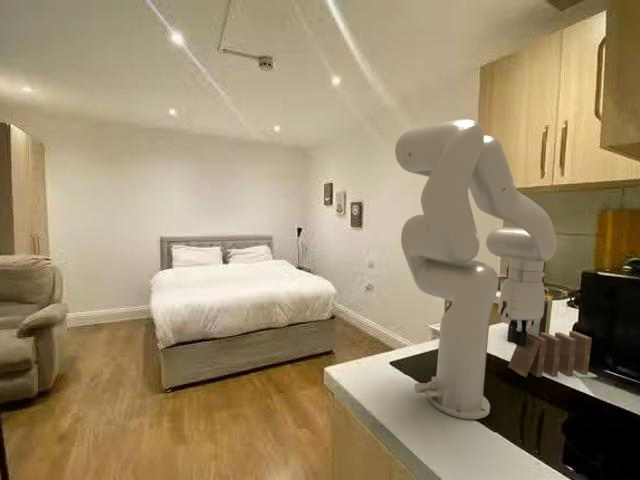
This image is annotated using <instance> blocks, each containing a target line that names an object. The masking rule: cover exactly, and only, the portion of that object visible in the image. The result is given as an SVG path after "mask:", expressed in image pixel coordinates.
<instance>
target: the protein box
mask: <svg viewBox="0 0 640 480" xmlns="http://www.w3.org/2000/svg"><path fill="white" fill-rule="evenodd" d="M544 295H545V302H544V313H543V317H542V318H541V321H540V322H539V323H536V324H533V325H532V326H531V327H530V331H528V332H527V333H534V334H536V335H538V336H540V333H548V334H550V328H551V321H552V320H551V319H552V309H553V300H554V294H551V293H545V292H544ZM515 322H516V321H515ZM507 327H508V328H507V330H508V331H507V339H506V341H507V342H508V343H512V329H513V328H511V327H510V325H509V324H508V326H507Z"/></svg>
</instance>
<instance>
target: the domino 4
mask: <svg viewBox="0 0 640 480" xmlns="http://www.w3.org/2000/svg"><path fill="white" fill-rule="evenodd" d="M554 337H556V338H559V339H561V348H560V357H559V366H558V372H559V373H560V374H562V375H564V376H566V377H573V376H574V375H573V366H574V358H575V349H576V341H577V339H574V338H572V337H570V336H569V335H567V334H564V333H563V332H559V331H558V332H554Z"/></svg>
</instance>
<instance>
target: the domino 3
mask: <svg viewBox="0 0 640 480" xmlns="http://www.w3.org/2000/svg"><path fill="white" fill-rule="evenodd" d="M540 337H542V338H544V339H546V340H547V344H546V351H545V359H544V366H543V373H546V374H547V375H549V376H550V377H551V378H552V377H553V378H554V377H555V378H556V377H558V374H559V373H558V372H559V371H558V366H559V357H560V348H561V339H559V338H556V337H555V335H552V334H550V333H549V334H548V333H540Z"/></svg>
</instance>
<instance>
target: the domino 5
mask: <svg viewBox="0 0 640 480" xmlns="http://www.w3.org/2000/svg"><path fill="white" fill-rule="evenodd" d="M568 334H569V335H568V336H570V337H572V338H574V339H577V341H576V349H575V358H574V366H573V370H575V371H576V372H578V373H580V374H582V375H586V374H588V371H589V367H590V365H589V364H590V357H591V348H592V342H593V341H592V340H593V339H592V337H590V336H588V335H586V334H584V333H583V334H582V333H580V332H577V331H575V330H574V331H573V330H570V331H569V333H568Z"/></svg>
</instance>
